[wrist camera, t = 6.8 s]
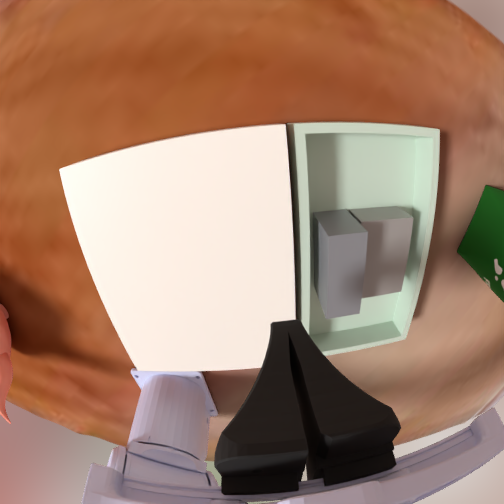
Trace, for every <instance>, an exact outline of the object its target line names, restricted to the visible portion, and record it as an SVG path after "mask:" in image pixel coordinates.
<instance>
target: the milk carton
mask: <svg viewBox="0 0 504 504" xmlns="http://www.w3.org/2000/svg"><path fill="white" fill-rule="evenodd" d="M457 252H458V253H459V254H460V255H461V256H462V257H463V258H464V259H465V260H466V262H467V263H468V264H469V265H470V266H471V267H472V268H473V269H474V270H475V271H476V272H477V274H478V275H479V276H480V277H481V278H482V279H483V280H484V282H485V283H486V284H487V285H488V286H489V287H490V289H491V290H492V291H493V292H494V293H495V294H496V295H497V296H498V297H499V298H500V299H501V300H502V301H503V302H504V191H502V190H499V189H496V188H493V187H490V186H488V185H486V186H485V189H484V191H483V194H482V196H481V199H480V202H479V204H478V207H477V209H476V211H475V214H474V216H473V218H472V221H471V223H470V225H469V227H468V230H467V232H466V234H465V236H464V238H463V240H462V242H461V244H460V246H459V248H458V250H457Z"/></svg>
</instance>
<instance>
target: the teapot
mask: <svg viewBox="0 0 504 504" xmlns="http://www.w3.org/2000/svg"><path fill="white" fill-rule="evenodd" d="M7 318H9V314H8V312H7V310H6V308H5V307H4V306H3V305H2V304H0V414H1V415H2V416H3V417H4V418H5V419H6V420H7V421H8V422H9V423H10V424H11V422H10V420H9V419H8V416H7V414H6V410H5V400H6V396H7V394H8V391H9V388H10V386H11V383H12V378H13V368H12V363H11V360H10V356H11V334H10V329H9V325H8V322H7V320H6V319H7Z"/></svg>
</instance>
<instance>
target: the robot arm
mask: <svg viewBox="0 0 504 504" xmlns="http://www.w3.org/2000/svg"><path fill="white" fill-rule="evenodd" d="M270 327H271V329H270V338H269V344H268V348H267V352H266V355H265V359H264V361H263V364H262V367H261V370H260V372H259V375H258V377H257V379H256V382H255V384H254V386H253V388H252V390H251V391H250V393H249V395H248V397H247V399H246V400H245V402H244V404H243V405H242V407H241V408H240V410H239V411H238V412H237V414H236V415H235V417H234V418H233V419H232V421H231V422H230V423H229V424H228V426H227V427H226V428H225V429H224V430H223V432H222V433H221V436H220V438H219V441H218V444H217V447H216V451H215V462H214V465H215V468H216V469H217V470H218V472H219V473H220V474H221V476H222V483H221V486H218V483H217V481H216V479H215V477H214V475H213V474H212V473H211V472H210V471H206V466H207V463H206V462H204V461H205V459H206V456H207V450H208V435H209V422H210V416H217V415H218V411H217V409H216V407H215V404H214V402H213V399H212V397H211V394H210V392H209V389H208V387H207V384H206V382H205V379H204V376H203V374H202V372H201V371H138V370H137V368H133V369H132V370H131V374H132V375H133V377H134V379H135V380H136V382H137V383H138V385H139V387H140V388H141V390H142V391H141V394H140V398H139V401H138V405H137V409H136V413H135V416H134V420H133V424H132V428H131V432H130V436H129V440H128V444H127V446H126V447H123V446H121V445H119V446H118V447H116V448H113V450H112V452H111V455H110V458H109V461H108V465H107V466H103V465H99V464H96V463H91V466H90V470H89V474H88V478H87V482H86V486H85V490H84V494H83V499H82V503H81V504H248V503H247V502H256V501H257V502H258V501H273V500H281V501H279V502H271V503H262V504H413V503H415V502H417V501H419V500H422V499H424V498H426V497H428V496H430V495H432V494H434V493H436V492H438V491H440V490H442V489H444V488H446V487H447V486H449V485H451V484H453V483H455V482H456V481H458V480H460V479H462V478H463V477H465V476H467V475H468V474H470V473H472V472H473V471H475V470H476V469H478V468H480V467H481V466H483V465H484V464H485V463H487V462H488V461H490V460H491V459H492V458H493V457H495V456H496V455H497V454H499V453H500V452H501V451H502V450H503V449H504V425H503V423H502V421H501V419H500V417H499V415H498V413H497V412H496V410H495V408H491V409H490V410H488V411H487V412H485V413H483V414H482V415H480V416H478V417H477V418H476V419H475V420H474V421H473V422H472V423H471V424H470V426H468V427H467V428H465V429H463V430H461V431H459V432H457V433H455V434H453V435H451V436H449V437H447V438H445V439H443V440H441V441H439V442H436V443H434V444H432V445H430V446H427V447H425V448H423V449H420V450H418V451H416V452H413V453H410V454H408V455H405V456H402V457H399V458H396V459H395V457H394V454H393V451H392V450H394V445H393V442H392V441H393V440H394V438H395V437H396V436H397V434H398V433H399V431H400V429H401V426H400V423H399V421H398V418H397V417H396V415H395V413H394V411H393V410H392V408H391V407H389V406H387V405H385V404H383V403H381V402H380V401H378V400H376V399H374V398H373V397H371V396H370V395H368V394H367V393H365V392H364V391H362V390H361V389H360V388H358V387H357V386H356V385H355V384H353V383H352V382H351V381H349V380H348V379H347V378H346V377H345V376H344V375H343V374H342V373H340V372H339V371H338V370H337V369H336V368H335V367H334V366H333V365H332V364H331V362H330V361H329V360H328V359H327V358H326V357H325V356H324V354H323V353H322V352H321V351H320V349H319V348H318V347H317V346H316V344H315V343H314V342H313V340H312V339H311V337H310V336H309V334H308V333H307V331H306V330H305V328H304V326H303V324H302V322H301V321H300V320H299V319H295V320H287V321H278V322H272V323H271V324H270ZM305 465H306V469H307V481H301V479H302V475H303V471H304V470H305Z"/></svg>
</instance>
